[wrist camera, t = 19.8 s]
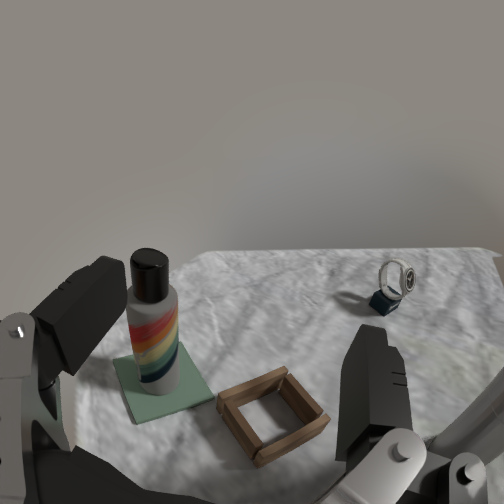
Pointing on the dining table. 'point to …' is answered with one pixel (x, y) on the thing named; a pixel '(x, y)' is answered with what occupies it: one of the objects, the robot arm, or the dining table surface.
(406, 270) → the watch
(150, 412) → the sage mat
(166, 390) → the lotion bottle
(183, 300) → the dining table surface
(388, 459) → the robot arm
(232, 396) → the walnut holder
